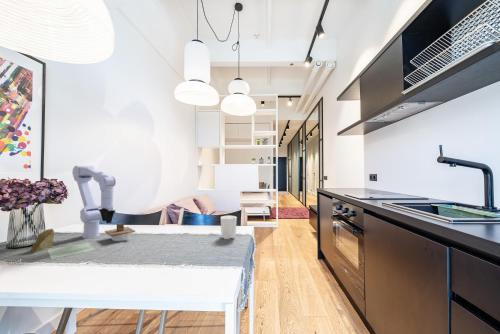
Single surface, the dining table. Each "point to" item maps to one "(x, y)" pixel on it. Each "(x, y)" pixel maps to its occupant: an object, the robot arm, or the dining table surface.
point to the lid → (119, 230)
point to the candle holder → (228, 226)
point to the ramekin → (120, 237)
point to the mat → (70, 250)
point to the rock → (43, 241)
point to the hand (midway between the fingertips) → (106, 222)
